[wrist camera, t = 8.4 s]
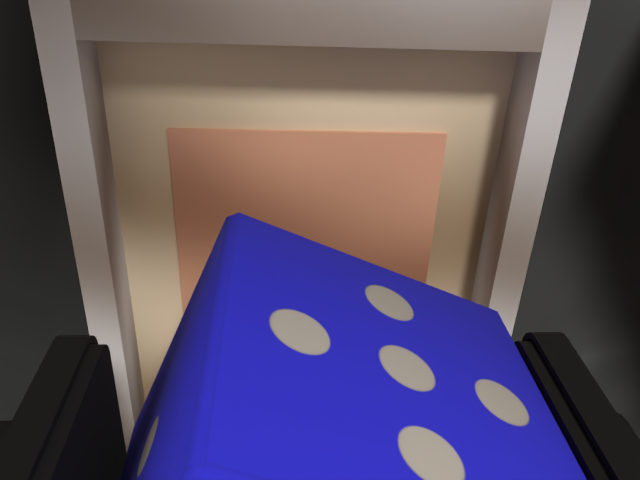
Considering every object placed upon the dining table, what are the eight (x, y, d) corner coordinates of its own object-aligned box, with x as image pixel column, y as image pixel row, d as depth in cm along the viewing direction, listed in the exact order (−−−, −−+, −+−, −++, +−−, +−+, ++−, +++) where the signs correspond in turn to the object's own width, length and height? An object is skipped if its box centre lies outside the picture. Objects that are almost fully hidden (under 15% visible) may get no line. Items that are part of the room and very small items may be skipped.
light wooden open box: (69, -37, 13) (-157, 32, 6) (539, -21, 13) (786, 57, 7) (162, 593, 23) (116, 862, 17) (421, 584, 24) (473, 841, 17)
